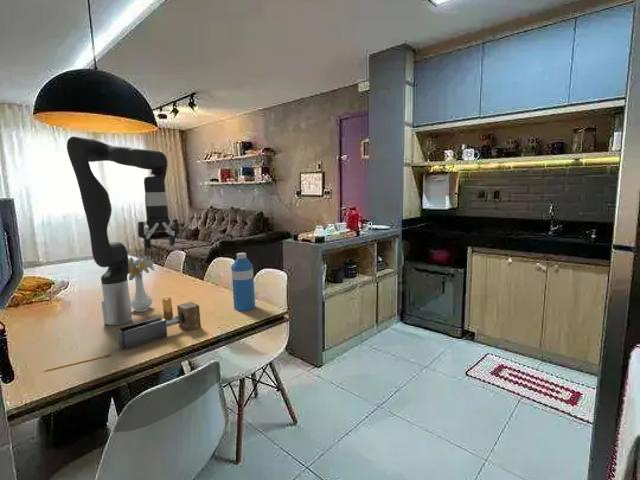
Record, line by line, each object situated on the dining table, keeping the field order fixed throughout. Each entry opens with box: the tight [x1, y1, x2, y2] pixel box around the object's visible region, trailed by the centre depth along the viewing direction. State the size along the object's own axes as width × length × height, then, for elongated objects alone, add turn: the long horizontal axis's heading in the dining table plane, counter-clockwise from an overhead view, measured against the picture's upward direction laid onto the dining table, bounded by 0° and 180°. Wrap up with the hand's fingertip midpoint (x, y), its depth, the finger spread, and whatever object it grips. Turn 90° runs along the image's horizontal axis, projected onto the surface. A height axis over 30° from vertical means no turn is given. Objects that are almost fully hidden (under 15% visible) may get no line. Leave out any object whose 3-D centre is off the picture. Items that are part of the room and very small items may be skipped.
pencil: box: [39, 353, 113, 373], centre depth 109 cm, size 19×1×1 cm, turn 122°
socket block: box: [176, 301, 202, 332], centre depth 135 cm, size 6×7×9 cm
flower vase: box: [128, 254, 156, 312], centre depth 156 cm, size 13×18×25 cm
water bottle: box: [230, 252, 256, 312], centre depth 155 cm, size 9×9×25 cm
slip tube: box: [149, 297, 184, 327], centre depth 130 cm, size 16×3×11 cm, turn 136°
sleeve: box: [116, 316, 168, 351], centre depth 123 cm, size 15×5×6 cm, turn 136°
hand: (160, 247), depth 132 cm, fingers open, 8 cm apart
